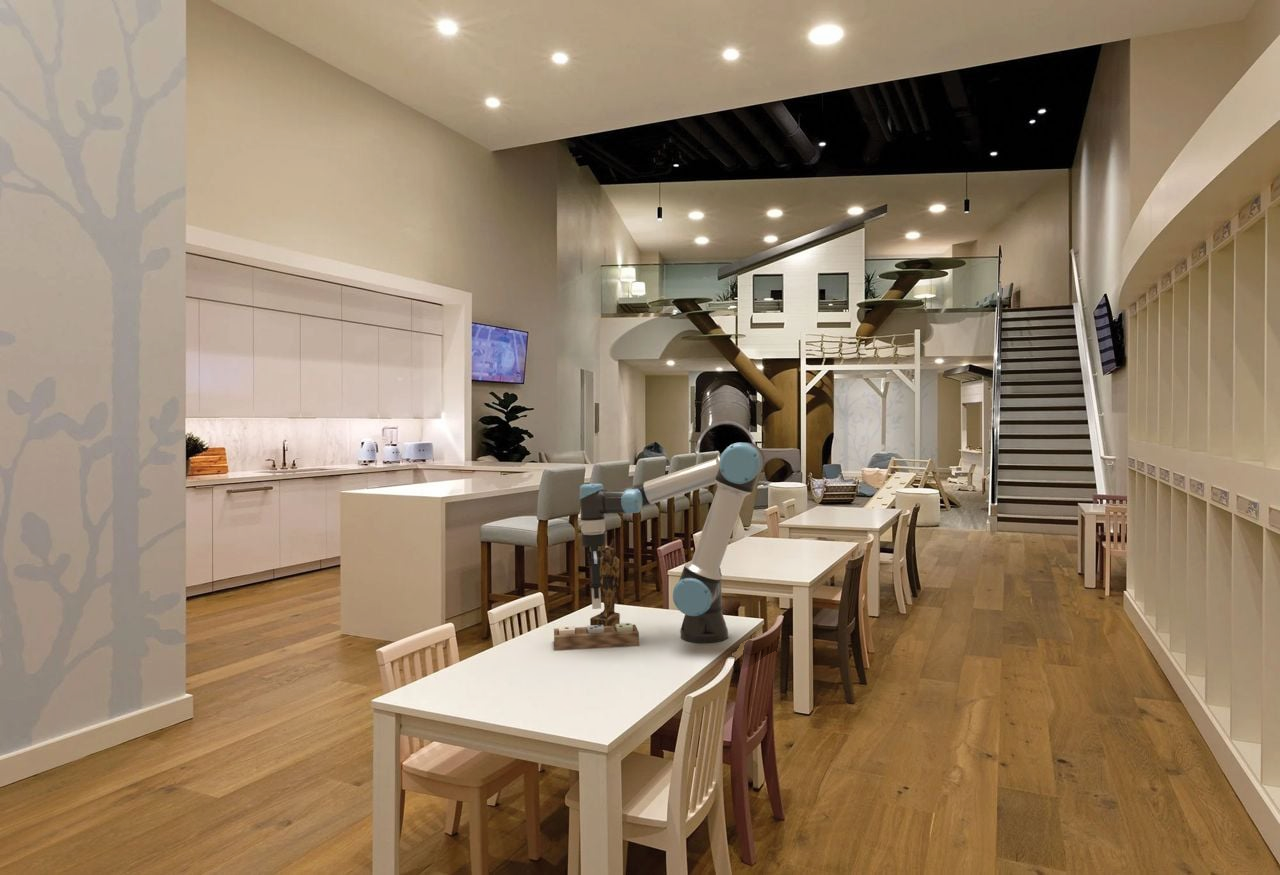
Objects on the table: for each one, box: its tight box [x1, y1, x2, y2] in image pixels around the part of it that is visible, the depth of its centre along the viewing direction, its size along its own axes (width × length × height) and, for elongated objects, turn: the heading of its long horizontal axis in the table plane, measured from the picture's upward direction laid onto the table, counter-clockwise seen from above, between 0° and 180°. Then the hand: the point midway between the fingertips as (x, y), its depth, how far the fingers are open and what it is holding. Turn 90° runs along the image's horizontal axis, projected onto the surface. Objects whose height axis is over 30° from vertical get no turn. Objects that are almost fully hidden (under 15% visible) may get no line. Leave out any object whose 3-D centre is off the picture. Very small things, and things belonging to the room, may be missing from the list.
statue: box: [589, 538, 621, 626], centre depth 272 cm, size 8×11×30 cm
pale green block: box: [616, 622, 633, 632], centre depth 253 cm, size 5×5×4 cm
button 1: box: [558, 625, 576, 635], centre depth 251 cm, size 5×5×4 cm
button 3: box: [586, 625, 604, 633], centre depth 252 cm, size 5×5×4 cm
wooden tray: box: [553, 624, 640, 651], centre depth 252 cm, size 26×11×4 cm, turn 97°
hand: (596, 608), depth 252 cm, fingers closed
